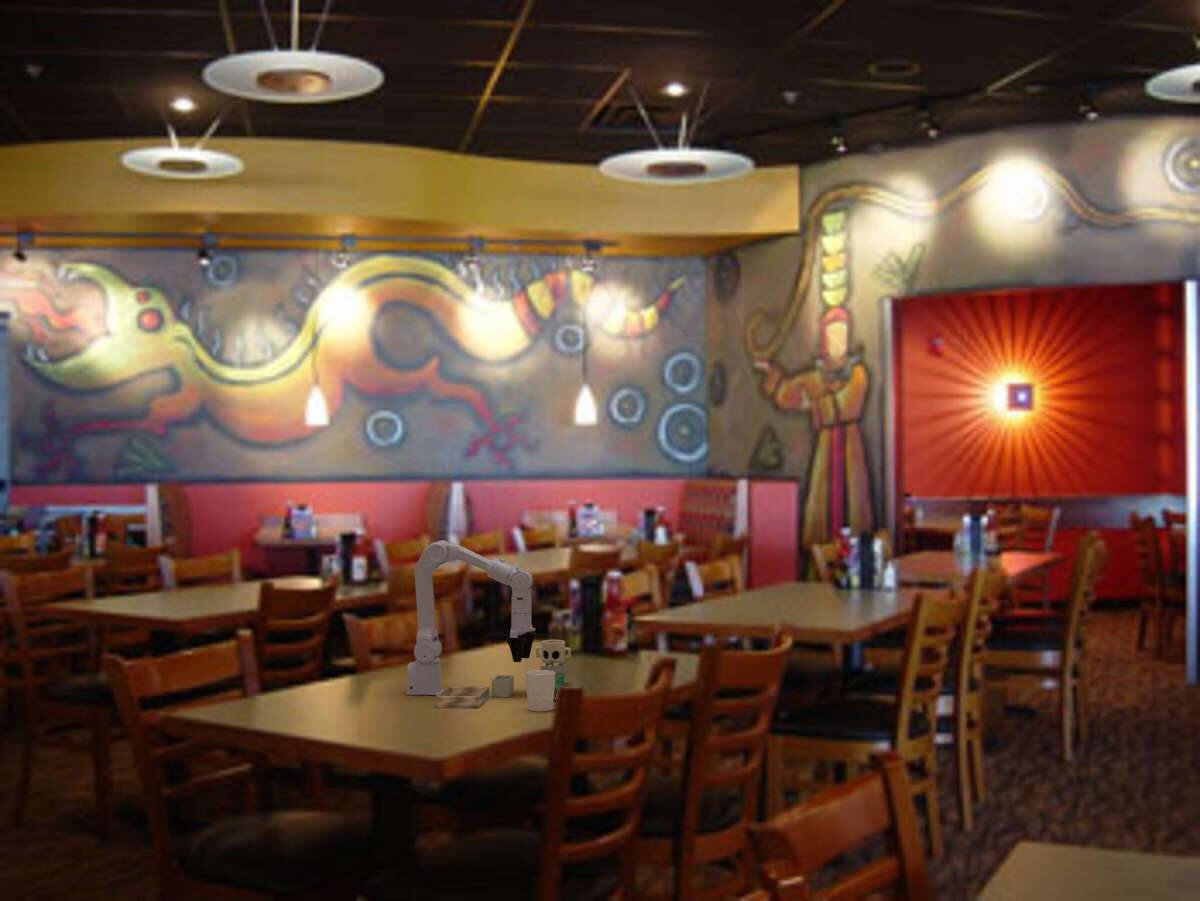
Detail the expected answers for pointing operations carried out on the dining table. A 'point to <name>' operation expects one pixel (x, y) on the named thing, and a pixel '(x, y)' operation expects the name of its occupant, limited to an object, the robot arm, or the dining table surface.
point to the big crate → (462, 697)
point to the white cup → (540, 690)
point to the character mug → (553, 651)
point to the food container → (556, 673)
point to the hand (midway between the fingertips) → (521, 660)
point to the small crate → (502, 685)
